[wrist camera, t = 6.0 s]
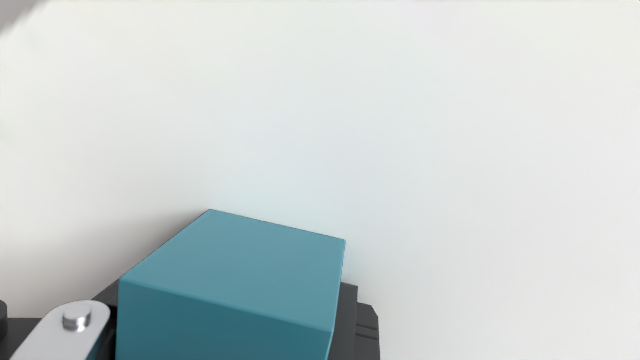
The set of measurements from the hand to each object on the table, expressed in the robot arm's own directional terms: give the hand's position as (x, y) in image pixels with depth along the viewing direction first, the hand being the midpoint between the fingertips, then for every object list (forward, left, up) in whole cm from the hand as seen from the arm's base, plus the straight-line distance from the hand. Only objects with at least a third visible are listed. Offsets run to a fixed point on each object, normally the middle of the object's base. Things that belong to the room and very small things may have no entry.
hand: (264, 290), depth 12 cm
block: (0, 0, 0) cm, 0 cm away
